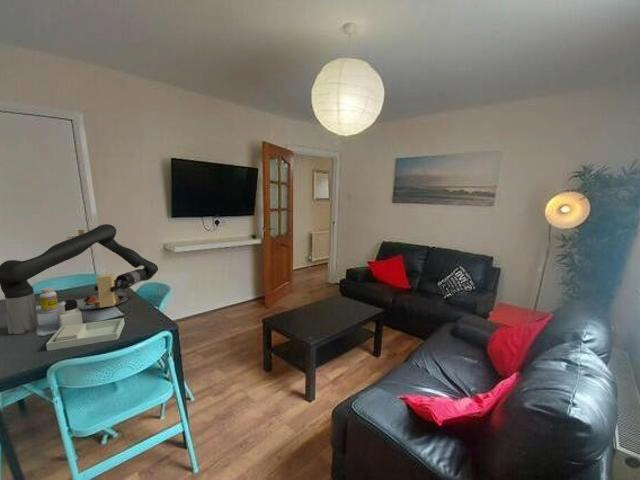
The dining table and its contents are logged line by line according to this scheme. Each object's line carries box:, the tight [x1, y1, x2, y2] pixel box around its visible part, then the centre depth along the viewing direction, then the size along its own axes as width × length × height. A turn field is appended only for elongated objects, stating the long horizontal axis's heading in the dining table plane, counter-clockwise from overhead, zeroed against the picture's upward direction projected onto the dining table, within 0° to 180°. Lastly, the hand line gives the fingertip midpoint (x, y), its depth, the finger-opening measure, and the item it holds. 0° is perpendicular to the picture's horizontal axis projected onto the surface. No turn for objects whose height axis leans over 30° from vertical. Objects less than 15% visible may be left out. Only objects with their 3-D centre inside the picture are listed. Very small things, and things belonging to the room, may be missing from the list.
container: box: [56, 299, 84, 328], centre depth 138 cm, size 8×8×13 cm
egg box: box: [56, 322, 86, 342], centre depth 127 cm, size 7×12×4 cm, turn 25°
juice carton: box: [96, 273, 116, 308], centre depth 142 cm, size 6×6×15 cm
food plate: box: [77, 291, 129, 310], centre depth 169 cm, size 25×23×4 cm
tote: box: [45, 317, 126, 352], centre depth 129 cm, size 24×16×4 cm, turn 115°
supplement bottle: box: [39, 286, 59, 314], centre depth 155 cm, size 7×7×13 cm
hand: (103, 289), depth 140 cm, fingers closed on juice carton, 7 cm apart
